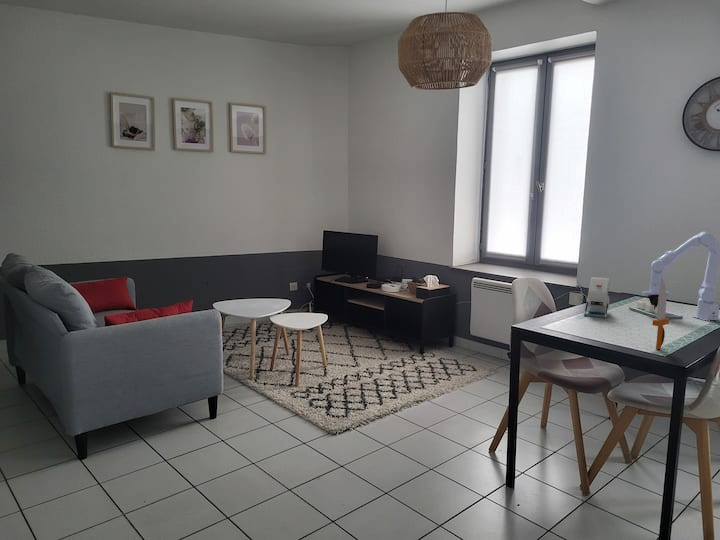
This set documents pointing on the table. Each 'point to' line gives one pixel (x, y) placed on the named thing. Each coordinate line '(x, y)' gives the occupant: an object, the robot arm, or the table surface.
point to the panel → (652, 314)
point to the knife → (661, 315)
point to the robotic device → (598, 297)
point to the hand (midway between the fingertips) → (653, 308)
